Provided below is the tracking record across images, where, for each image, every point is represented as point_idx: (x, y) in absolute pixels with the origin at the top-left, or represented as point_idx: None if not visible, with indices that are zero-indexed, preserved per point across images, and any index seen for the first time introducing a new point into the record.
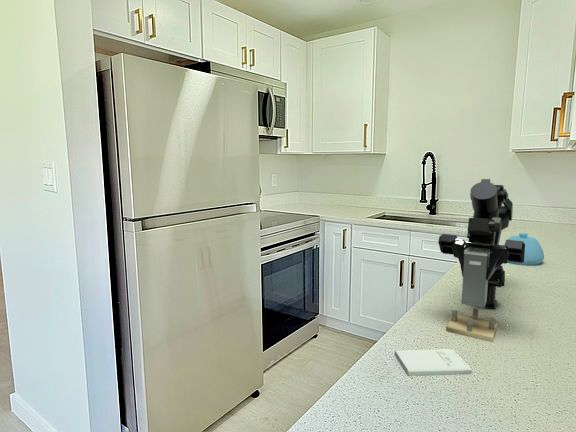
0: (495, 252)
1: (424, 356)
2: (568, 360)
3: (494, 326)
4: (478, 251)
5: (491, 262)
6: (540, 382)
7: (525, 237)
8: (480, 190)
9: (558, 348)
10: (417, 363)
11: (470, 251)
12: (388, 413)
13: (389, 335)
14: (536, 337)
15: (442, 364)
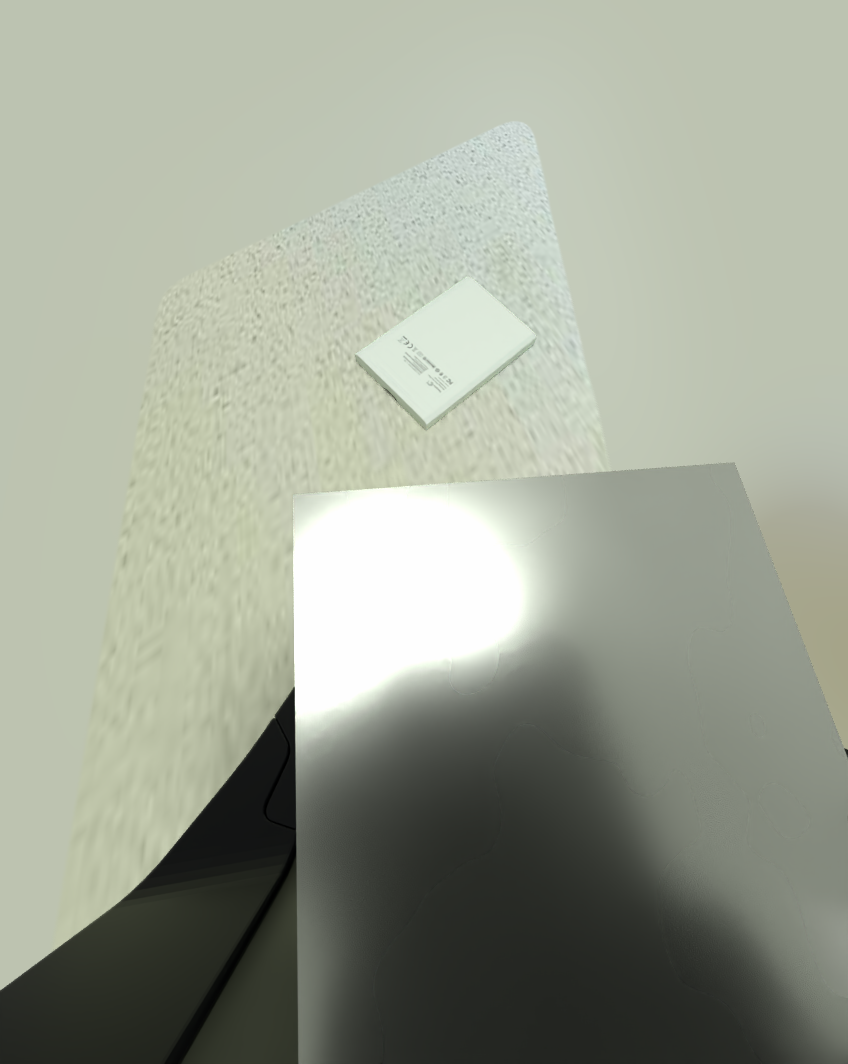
0: (149, 965)
1: (466, 344)
2: (119, 584)
3: None
4: (512, 600)
5: None
6: (206, 410)
7: None
8: None
9: (138, 663)
10: (466, 309)
11: (638, 505)
12: (441, 183)
13: (598, 425)
14: (207, 718)
15: (418, 335)
